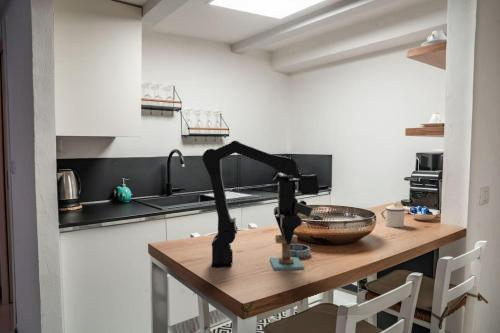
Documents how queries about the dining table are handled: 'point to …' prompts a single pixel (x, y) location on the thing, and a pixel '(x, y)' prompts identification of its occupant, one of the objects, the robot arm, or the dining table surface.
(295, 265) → the rubber mat
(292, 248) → the ring socket
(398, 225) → the teacup with lid
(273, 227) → the dining table surface
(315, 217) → the lighter
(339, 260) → the dining table surface
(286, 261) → the t key
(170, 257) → the dining table surface
